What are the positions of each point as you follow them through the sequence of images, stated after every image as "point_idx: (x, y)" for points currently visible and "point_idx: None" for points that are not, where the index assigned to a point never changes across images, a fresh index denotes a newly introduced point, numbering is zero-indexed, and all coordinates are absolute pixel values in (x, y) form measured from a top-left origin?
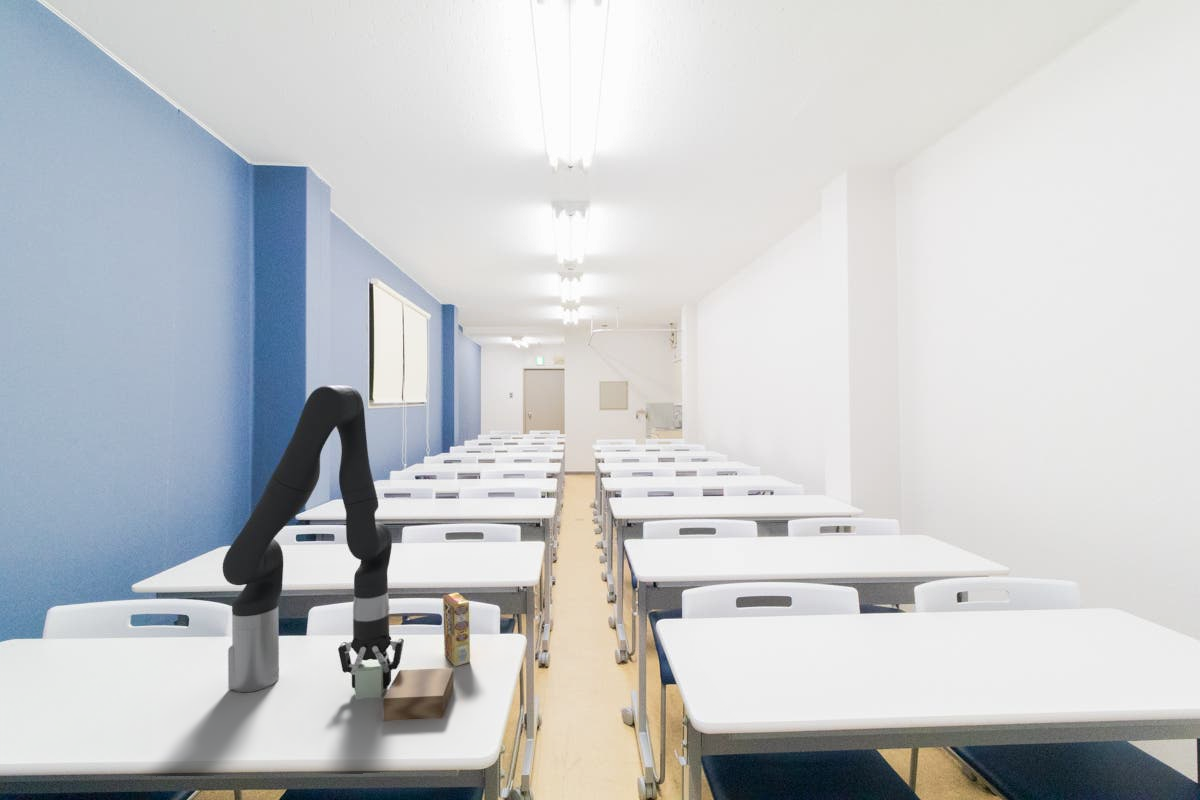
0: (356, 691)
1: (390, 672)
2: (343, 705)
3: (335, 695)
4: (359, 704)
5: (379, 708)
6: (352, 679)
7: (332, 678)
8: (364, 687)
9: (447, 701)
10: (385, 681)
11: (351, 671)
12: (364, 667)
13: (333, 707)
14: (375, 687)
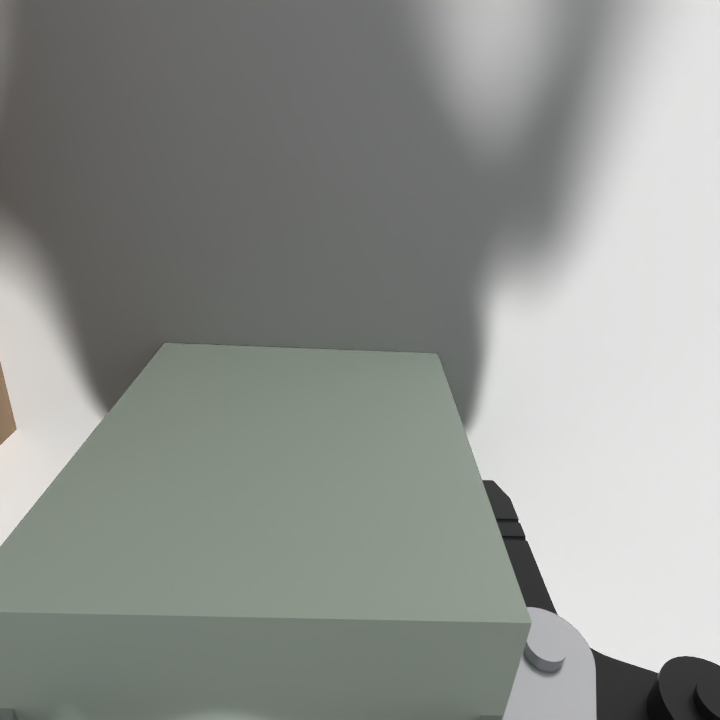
0: (437, 395)
1: None
2: (547, 242)
3: (639, 449)
4: (367, 229)
5: (76, 69)
6: (525, 560)
7: None
8: (338, 415)
9: None
10: None
11: (589, 666)
12: None
13: (656, 218)
14: (194, 404)
